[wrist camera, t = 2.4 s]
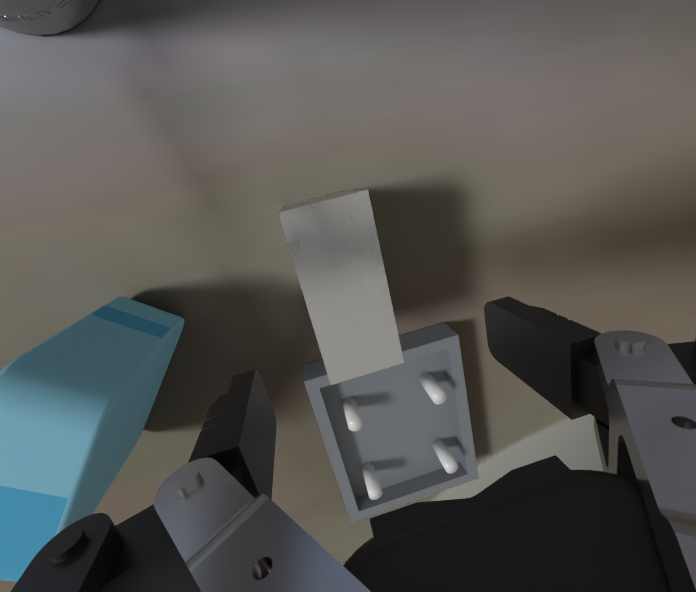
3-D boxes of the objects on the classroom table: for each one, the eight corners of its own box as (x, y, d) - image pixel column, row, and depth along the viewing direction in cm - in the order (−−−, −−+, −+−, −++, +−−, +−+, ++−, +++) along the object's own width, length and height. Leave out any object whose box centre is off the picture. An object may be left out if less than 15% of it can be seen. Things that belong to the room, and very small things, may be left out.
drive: (282, 206, 24) (278, 212, 16) (341, 191, 24) (368, 189, 16) (318, 326, 27) (330, 385, 19) (369, 311, 28) (404, 362, 19)
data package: (127, 289, 24) (-18, 374, 13) (190, 312, 25) (108, 407, 14) (82, 420, 26) (-74, 590, 15) (141, 435, 28) (38, 602, 16)
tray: (302, 364, 28) (304, 392, 24) (443, 322, 29) (467, 342, 25) (346, 497, 33) (353, 538, 29) (464, 457, 34) (487, 491, 30)
